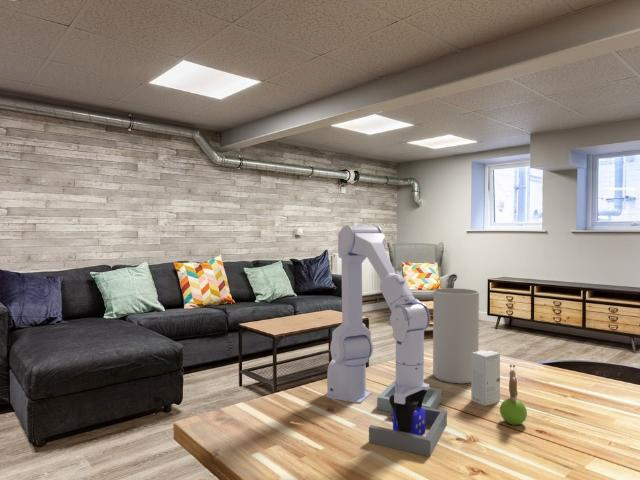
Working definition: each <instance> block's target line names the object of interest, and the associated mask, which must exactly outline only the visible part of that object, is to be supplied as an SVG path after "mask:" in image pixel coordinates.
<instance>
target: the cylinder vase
mask: <svg viewBox="0 0 640 480" xmlns="http://www.w3.org/2000/svg"><path fill="white" fill-rule="evenodd" d="M432 305H433V306H432V307H433V308H432V309H433V311H432V313H433V314H432V315H433V316H432V317H433V318H432V320H433V322H432V326H433V327H432V329H433V331H432V374H433V376H434V378H436V379H437V380H439V381H441V382H445V383H450V384H455V383H458V384H459V385H462V384H463V385H464V384H465V383H467V384H471V354H472V352H477V351H479V345H480V344H479V343H480V342H479V333H480V332H479V331H480V329H479V326H480V325H479V323H480V321H479V320H480V319H479V318H480V291H479V290H475V289H467V288H456V287H454V288H453V287H451V288H450V287H448V288H445V287H443V288H434V289H433V304H432ZM458 384H457V385H458Z"/></svg>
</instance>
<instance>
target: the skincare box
mask: <svg viewBox="0 0 640 480" xmlns="http://www.w3.org/2000/svg"><path fill="white" fill-rule="evenodd" d="M470 385H471V386H470V387H471V391H470V392H471V394H470V395H471V399H470V400H471V401H472V402H474V403H476V404H479V405H481V406H485V407H486V406H490V405H494V404H496V403H499V402H501V354H500V352H497V351H493V350H489V349H484V350H478V351H477V352H472V354H471V383H470Z"/></svg>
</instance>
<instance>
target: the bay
mask: <svg viewBox="0 0 640 480" xmlns="http://www.w3.org/2000/svg"><path fill="white" fill-rule="evenodd" d="M421 408H424V409H425V424H429V425H432V426H431V427H430V428H429V430H428V432H427V434H426V435H425V436H423V435H421V436H420V435H415V434H410V433H406V432H401V431H396V430H393V428H386V427H381V426H378V425H371V424H370V425H369V427H368V443H371V444H374V445H378V446H383V447H386V448H392V449H394V450H395V449H396V450H400V451H404V452H408V453H413V454H417V455H422V456H427V457H431V456H432V454H433V452H434V451H435V449H436V447H437V444H438V442H439V440H440V439H441V436H442V435H443V433H444V431H445V429H446V428H447V426H448V420H447V418H448V411H447V410H444V409H443V410H442V409H437V408H436V409H433V408H427V407H421ZM390 416H391V417H393V408H392V406H391V412H390Z"/></svg>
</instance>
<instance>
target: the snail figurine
mask: <svg viewBox="0 0 640 480" xmlns="http://www.w3.org/2000/svg"><path fill="white" fill-rule="evenodd" d="M509 367H510V368H516V365H515V364H513V365H512V364H509ZM508 390H509V391H508V392H509V396H510V397H509V398H507V399H504V400H503V401H502V402H501V403H500V406H499V413H500V416H501V418H502V419H503V420H504V421H505V422H506V423H507V424H510V425H514V426H518V425H521V424H523V423H524V422H525V421H526V419H527V417H528V411H527V407H526V406H525V404H524V403H523V402H522V401H521V400H519V399H518V379H517V377H516V371H515V369H510V371H509V383H508Z"/></svg>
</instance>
